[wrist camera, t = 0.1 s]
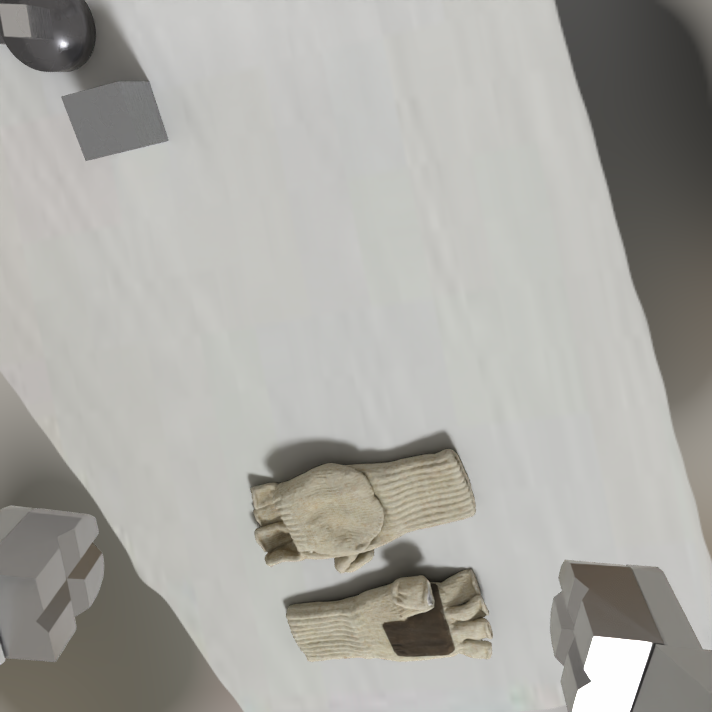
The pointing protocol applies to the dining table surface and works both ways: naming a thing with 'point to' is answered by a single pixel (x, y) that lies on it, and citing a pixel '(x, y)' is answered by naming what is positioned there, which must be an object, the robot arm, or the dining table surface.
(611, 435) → the dining table surface
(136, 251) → the dining table surface
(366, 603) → the pair of gloves
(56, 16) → the ratchet
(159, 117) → the plain grey cube block
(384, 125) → the dining table surface
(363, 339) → the dining table surface
